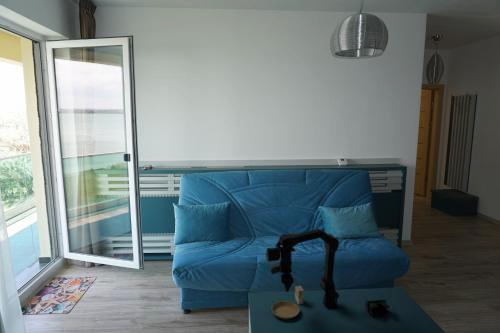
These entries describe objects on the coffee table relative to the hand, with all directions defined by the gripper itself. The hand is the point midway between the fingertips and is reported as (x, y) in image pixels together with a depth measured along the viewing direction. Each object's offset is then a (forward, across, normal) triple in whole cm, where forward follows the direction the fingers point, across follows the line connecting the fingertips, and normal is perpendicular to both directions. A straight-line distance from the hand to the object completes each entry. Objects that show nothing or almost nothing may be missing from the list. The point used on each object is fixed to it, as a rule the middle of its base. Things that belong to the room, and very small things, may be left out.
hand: (286, 287), depth 175 cm
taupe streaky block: (+14, -9, +8) cm, 18 cm away
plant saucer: (+14, +2, -1) cm, 14 cm away
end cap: (+15, +1, +47) cm, 50 cm away
